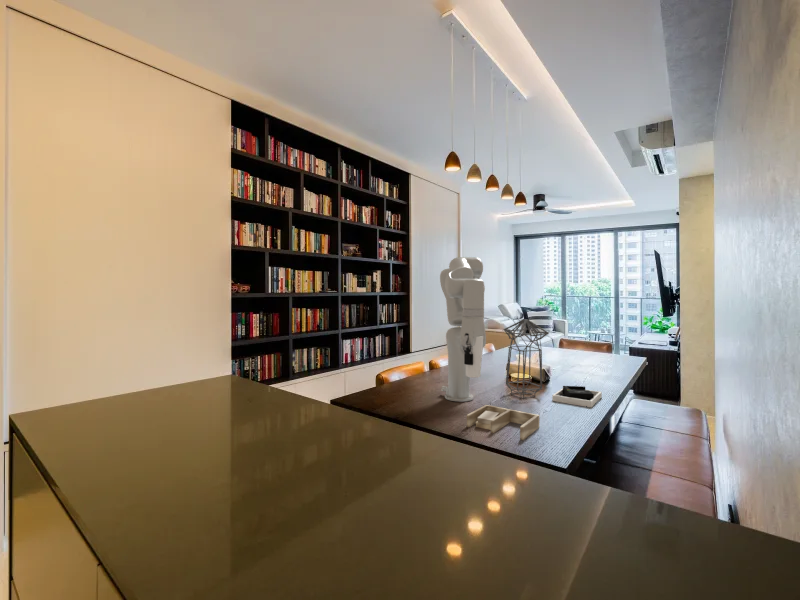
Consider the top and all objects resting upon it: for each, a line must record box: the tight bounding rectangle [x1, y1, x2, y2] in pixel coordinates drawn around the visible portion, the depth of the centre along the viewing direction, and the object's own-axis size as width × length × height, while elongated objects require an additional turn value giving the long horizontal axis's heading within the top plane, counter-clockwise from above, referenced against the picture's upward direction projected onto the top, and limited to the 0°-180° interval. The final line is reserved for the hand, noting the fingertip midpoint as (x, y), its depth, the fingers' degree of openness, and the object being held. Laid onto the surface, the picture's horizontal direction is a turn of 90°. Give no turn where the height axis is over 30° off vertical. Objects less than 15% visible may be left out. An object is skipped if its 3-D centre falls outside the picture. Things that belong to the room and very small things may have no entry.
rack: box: [466, 404, 540, 441], centre depth 135 cm, size 20×15×5 cm
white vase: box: [465, 336, 484, 379], centre depth 141 cm, size 7×7×15 cm
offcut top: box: [478, 411, 499, 425], centre depth 138 cm, size 5×9×2 cm, turn 150°
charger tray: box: [551, 387, 603, 408], centre depth 171 cm, size 16×19×2 cm
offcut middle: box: [475, 421, 491, 431], centre depth 138 cm, size 6×10×2 cm, turn 147°
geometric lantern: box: [502, 318, 550, 400], centre depth 176 cm, size 16×16×35 cm
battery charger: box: [562, 385, 594, 401], centre depth 171 cm, size 13×10×4 cm
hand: (473, 362), depth 141 cm, fingers closed on white vase, 6 cm apart
